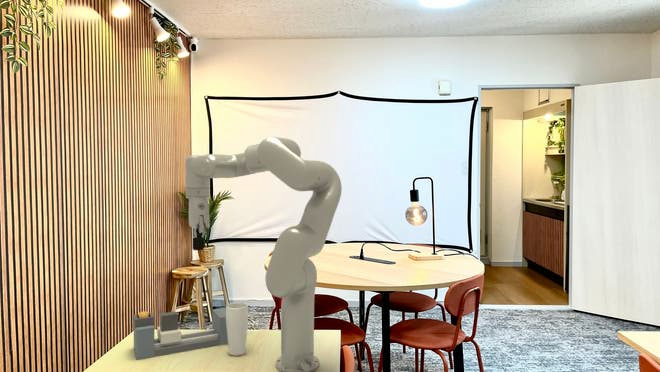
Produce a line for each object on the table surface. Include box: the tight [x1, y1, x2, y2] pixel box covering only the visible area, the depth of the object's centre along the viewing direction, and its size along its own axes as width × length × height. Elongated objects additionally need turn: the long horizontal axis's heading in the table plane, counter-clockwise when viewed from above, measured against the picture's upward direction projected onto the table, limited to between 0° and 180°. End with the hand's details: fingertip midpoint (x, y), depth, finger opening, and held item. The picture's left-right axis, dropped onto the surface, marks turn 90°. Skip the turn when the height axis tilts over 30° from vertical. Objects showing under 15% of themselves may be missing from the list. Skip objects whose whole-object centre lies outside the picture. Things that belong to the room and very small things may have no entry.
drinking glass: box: [225, 302, 249, 357], centre depth 140 cm, size 7×7×15 cm
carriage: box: [156, 311, 182, 344], centre depth 144 cm, size 6×8×8 cm
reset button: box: [138, 310, 150, 318], centre depth 140 cm, size 3×3×3 cm
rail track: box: [133, 307, 228, 361], centre depth 146 cm, size 30×10×12 cm, turn 118°
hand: (198, 249), depth 146 cm, fingers closed
